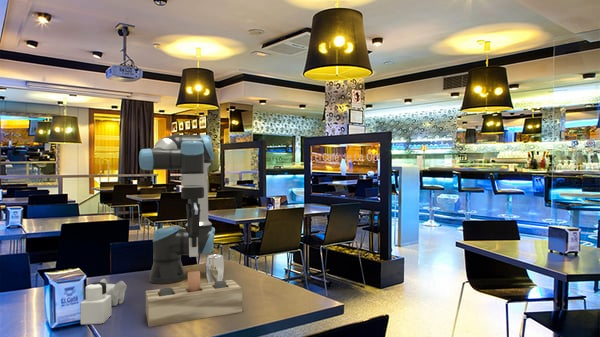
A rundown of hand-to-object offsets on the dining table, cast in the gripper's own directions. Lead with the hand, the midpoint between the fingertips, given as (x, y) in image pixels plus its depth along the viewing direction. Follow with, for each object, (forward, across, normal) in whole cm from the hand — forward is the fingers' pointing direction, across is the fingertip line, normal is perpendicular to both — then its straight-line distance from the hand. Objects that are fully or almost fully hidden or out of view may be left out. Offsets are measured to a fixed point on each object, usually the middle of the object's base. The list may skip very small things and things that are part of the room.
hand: (193, 256), depth 138 cm
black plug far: (+18, 0, +9) cm, 20 cm away
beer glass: (+20, -17, +11) cm, 28 cm away
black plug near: (+18, 0, -9) cm, 20 cm away
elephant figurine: (+20, -23, -26) cm, 40 cm away
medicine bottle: (+20, -8, -30) cm, 37 cm away
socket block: (+19, 0, 0) cm, 19 cm away
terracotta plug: (+13, 0, 0) cm, 13 cm away
